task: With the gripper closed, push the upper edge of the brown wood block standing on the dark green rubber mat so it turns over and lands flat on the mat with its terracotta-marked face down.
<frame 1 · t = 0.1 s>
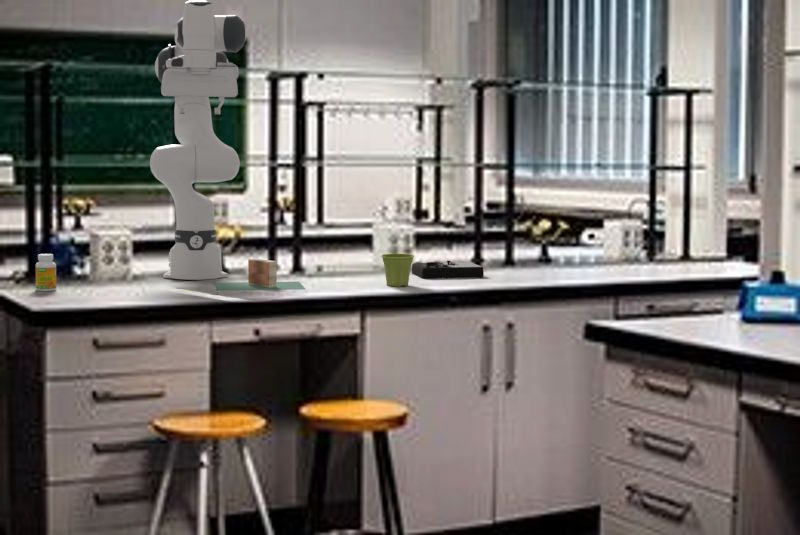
hand: (199, 114, 347), 48 cm above the countertop, fingers open, 8 cm apart
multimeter: (447, 277, 395), on the countertop
brown wood block: (262, 285, 357), point 1 cm above the countertop, touching green mat
plant pot: (397, 286, 371), on the countertop
green mat: (258, 290, 357), on the countertop
supplement bottle: (46, 290, 352), on the countertop
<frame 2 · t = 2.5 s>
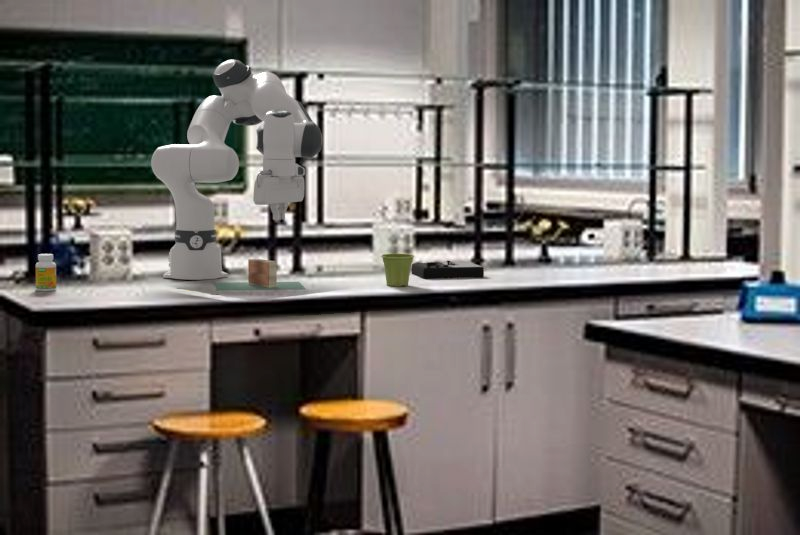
hand: (278, 219, 360), 19 cm above the countertop, fingers closed
nothing on the countertop moved.
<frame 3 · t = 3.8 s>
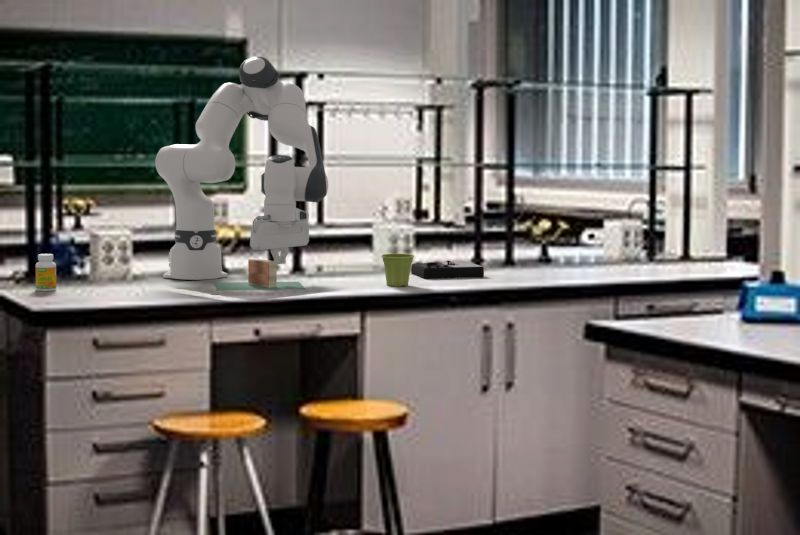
hand: (279, 264, 361), 7 cm above the countertop, fingers closed
nothing on the countertop moved.
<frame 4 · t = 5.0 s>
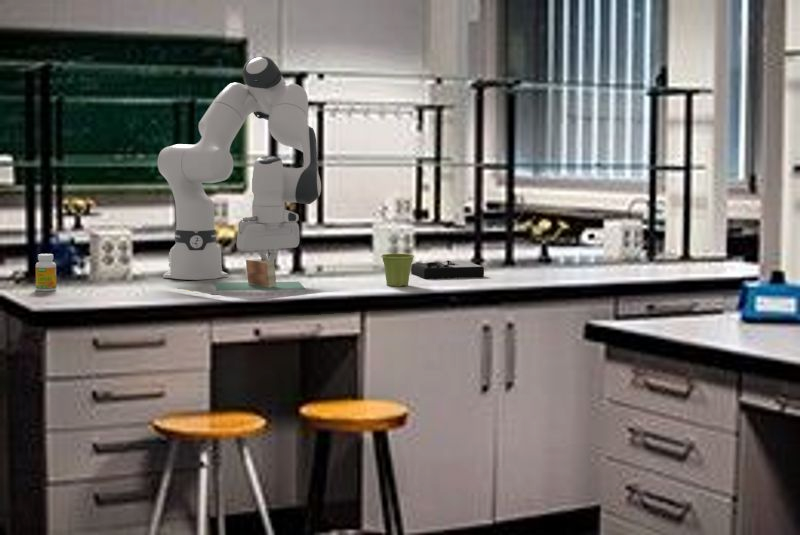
hand: (268, 265, 358), 7 cm above the countertop, fingers closed
brown wood block: (262, 284, 357), point 1 cm above the countertop, tilted 8°, touching green mat, gripper
everything else where it was.
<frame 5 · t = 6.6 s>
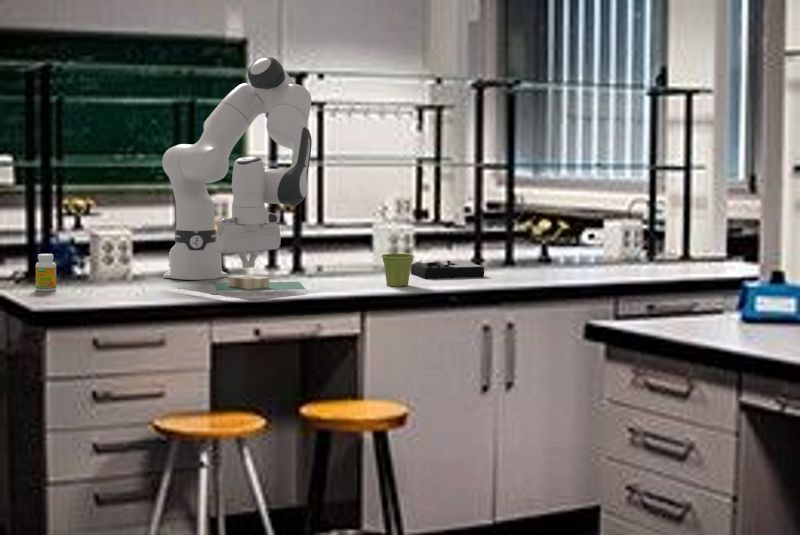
hand: (248, 267, 353), 7 cm above the countertop, fingers closed
brown wood block: (258, 280, 356), point 3 cm above the countertop, tilted 90°, touching green mat
everything else where it was.
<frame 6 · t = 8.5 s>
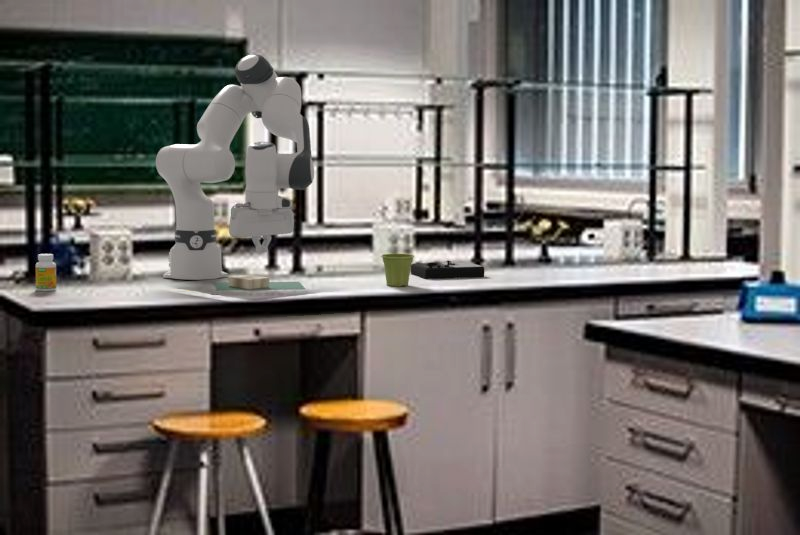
hand: (261, 252, 356), 10 cm above the countertop, fingers closed
nothing on the countertop moved.
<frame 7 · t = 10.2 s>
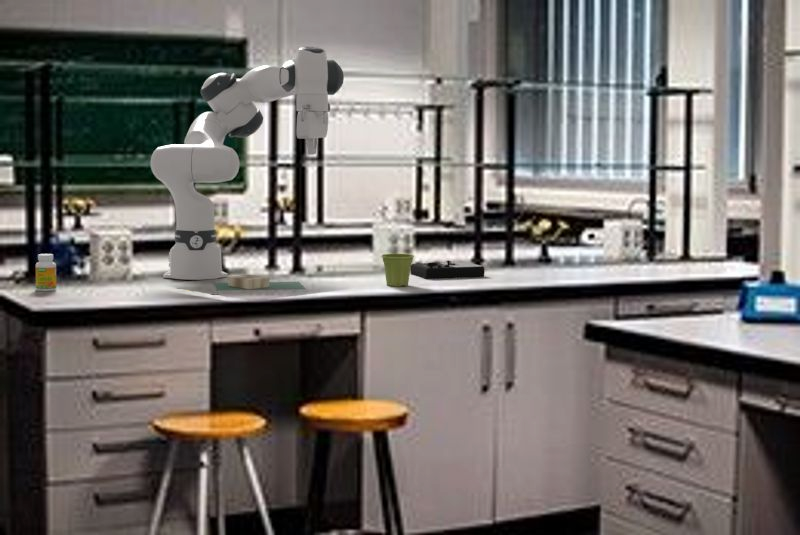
hand: (311, 154, 366), 37 cm above the countertop, fingers closed
nothing on the countertop moved.
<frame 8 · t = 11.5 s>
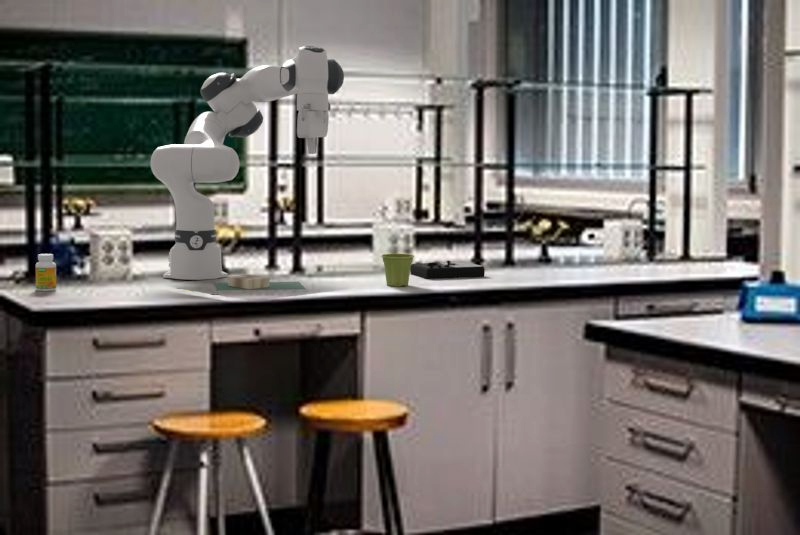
hand: (312, 153, 366), 37 cm above the countertop, fingers closed
nothing on the countertop moved.
at the end: brown wood block tilted 90°; brown wood block inside the target area (0.9 cm from its centre), point 2.6 cm above the countertop; the gripper is holding nothing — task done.
